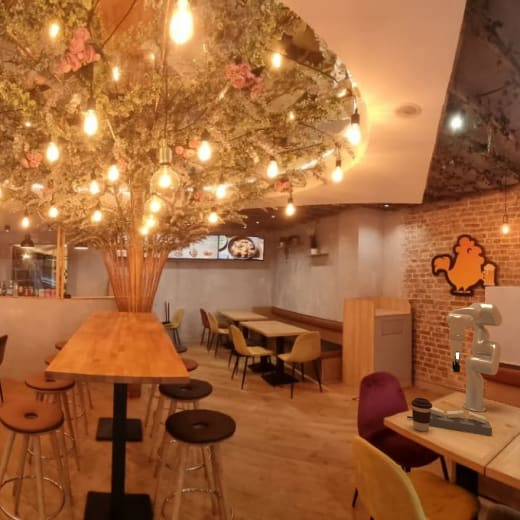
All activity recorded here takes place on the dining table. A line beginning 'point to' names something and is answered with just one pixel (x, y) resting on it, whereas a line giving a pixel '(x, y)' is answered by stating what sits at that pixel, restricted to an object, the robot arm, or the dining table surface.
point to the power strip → (460, 424)
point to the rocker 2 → (477, 417)
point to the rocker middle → (455, 414)
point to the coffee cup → (421, 414)
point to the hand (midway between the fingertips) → (455, 370)
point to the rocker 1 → (437, 411)
